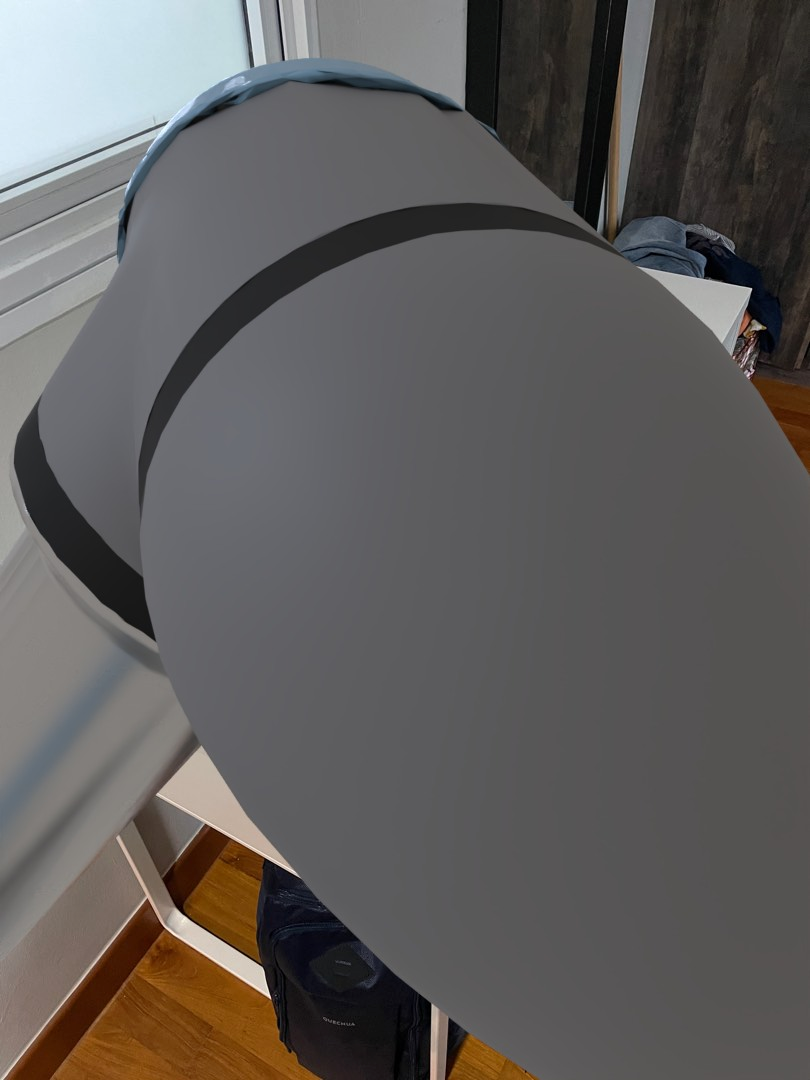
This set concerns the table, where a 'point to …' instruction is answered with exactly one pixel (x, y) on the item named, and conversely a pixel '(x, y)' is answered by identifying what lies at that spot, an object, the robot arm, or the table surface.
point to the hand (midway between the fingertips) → (375, 622)
